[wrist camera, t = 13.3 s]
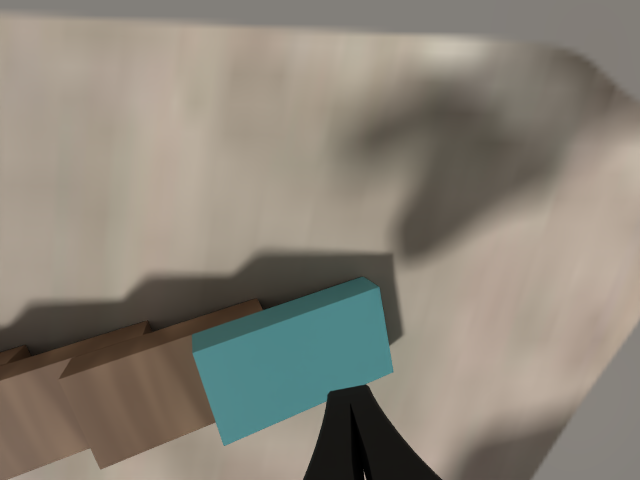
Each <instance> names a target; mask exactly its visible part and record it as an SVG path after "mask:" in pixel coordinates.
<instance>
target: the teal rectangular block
mask: <svg viewBox="0 0 640 480" xmlns="http://www.w3.org/2000/svg"><path fill="white" fill-rule="evenodd" d="M192 353H193V356H194V359H195V362H196V365H197V368H198V371H199V374H200V377H201V380H202V383H203V386H204V389H205V392H206V395H207V398H208V401H209V404H210V407H211V410H212V412H213V415H214V418H215V421H216V424H217V427H218V430H219V433H220V436H221V439H222V442H223V445H224V446H225V445H228V444H230V443H232V442H234V441H237V440H239V439H241V438H244V437H246V436H248V435H250V434H253V433H255V432H257V431H260V430H262V429H264V428H266V427H269V426H271V425H273V424H276V423H278V422H280V421H282V420H285V419H287V418H289V417H292V416H294V415H296V414H298V413H301V412H303V411H305V410H308V409H310V408H312V407H315V406H317V405H319V404H321V403H324V402H326V401H327V394H328V393H329V392H330V391H334V390H339V389H344V388H349V387H355V386H360V385H365V384H367V383H369V382H372V381H374V380H376V379H379V378H381V377H383V376H385V375H388V374H390V373H392V372H393V366H392V360H391V354H390V348H389V342H388V336H387V330H386V324H385V318H384V312H383V306H382V300H381V294H380V288H379V286H377V285H375V284H374V283H372V282H371V281H369V280H368V279H366V278H364V277H360V278H357V279H354V280H351V281H348V282H345V283H342V284H339V285H336V286H333V287H330V288H327V289H324V290H322V291H319V292H316V293H313V294H310V295H307V296H304V297H301V298H298V299H295V300H292V301H289V302H286V303H283V304H280V305H277V306H274V307H271V308H269V309H266V310H263V311H260V312H257V313H254V314H251V315H248V316H245V317H242V318H239V319H236V320H233V321H230V322H227V323H224V324H221V325H218V326H215V327H213V328H210V329H207V330H204V331H201V332H198V333H195V334H192Z"/></svg>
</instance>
